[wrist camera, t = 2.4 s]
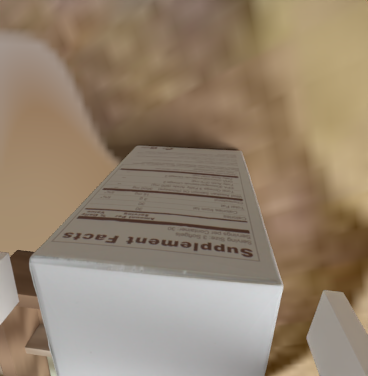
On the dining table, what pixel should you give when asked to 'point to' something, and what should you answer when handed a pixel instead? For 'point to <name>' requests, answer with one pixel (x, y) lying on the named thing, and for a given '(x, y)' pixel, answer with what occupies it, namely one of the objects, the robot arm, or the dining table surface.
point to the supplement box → (162, 271)
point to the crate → (25, 328)
